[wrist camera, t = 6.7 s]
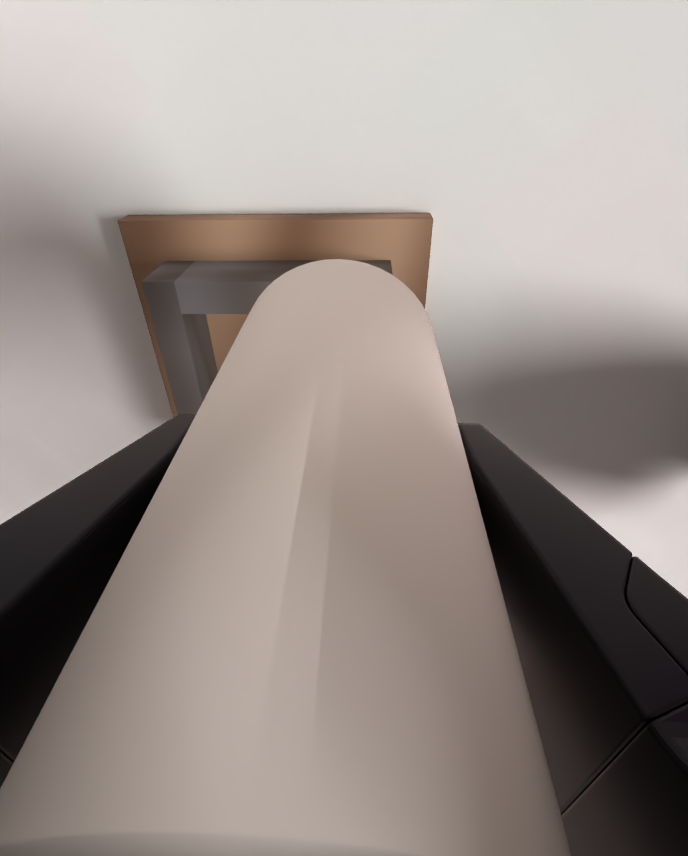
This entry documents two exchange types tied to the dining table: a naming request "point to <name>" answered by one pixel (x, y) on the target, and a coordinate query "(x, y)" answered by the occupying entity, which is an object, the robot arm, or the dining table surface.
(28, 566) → the robot arm
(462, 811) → the paper roll
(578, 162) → the dining table surface
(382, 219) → the roll holder
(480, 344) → the dining table surface
